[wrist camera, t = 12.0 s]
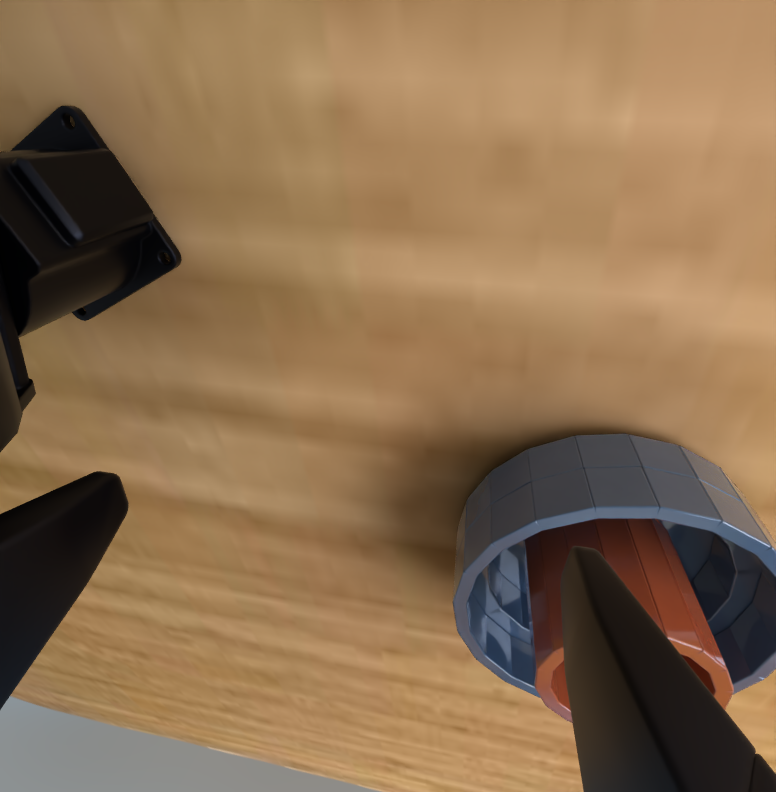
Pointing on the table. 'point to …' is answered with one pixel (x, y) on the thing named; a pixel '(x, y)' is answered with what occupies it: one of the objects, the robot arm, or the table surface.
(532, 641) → the pot
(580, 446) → the bowl
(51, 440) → the table surface
